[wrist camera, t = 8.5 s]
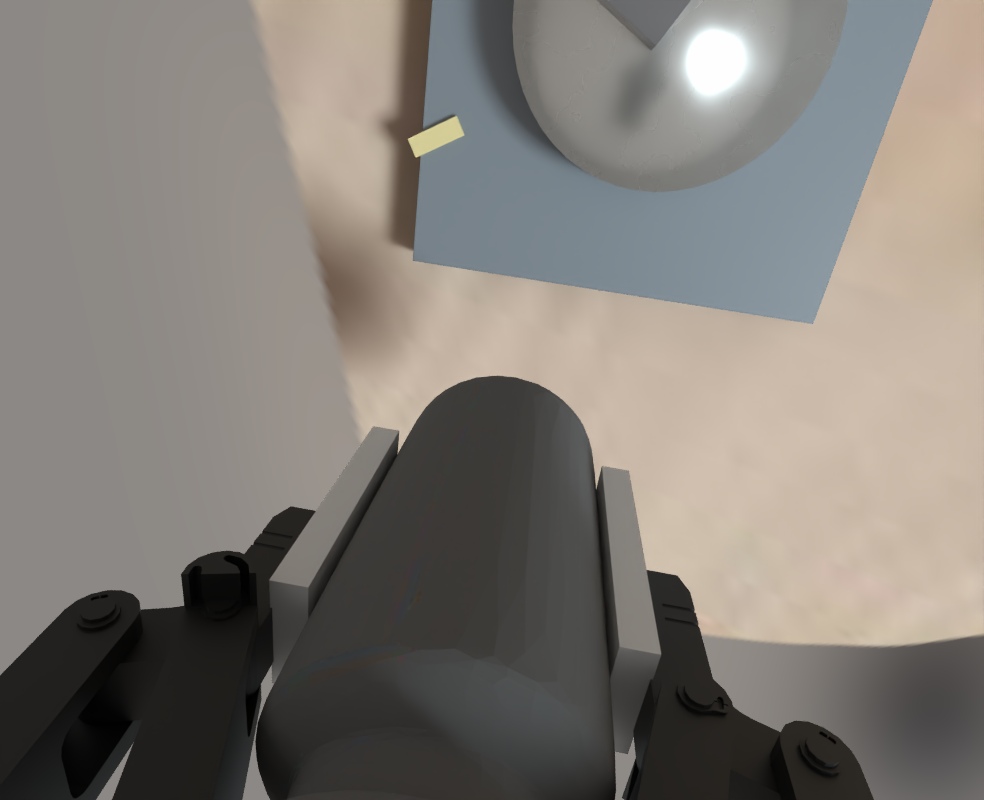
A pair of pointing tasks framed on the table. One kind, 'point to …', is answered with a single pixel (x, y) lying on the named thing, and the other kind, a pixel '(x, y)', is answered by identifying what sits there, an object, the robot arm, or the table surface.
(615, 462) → the table surface
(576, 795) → the bottle
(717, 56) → the dial
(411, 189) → the table surface
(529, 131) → the board
